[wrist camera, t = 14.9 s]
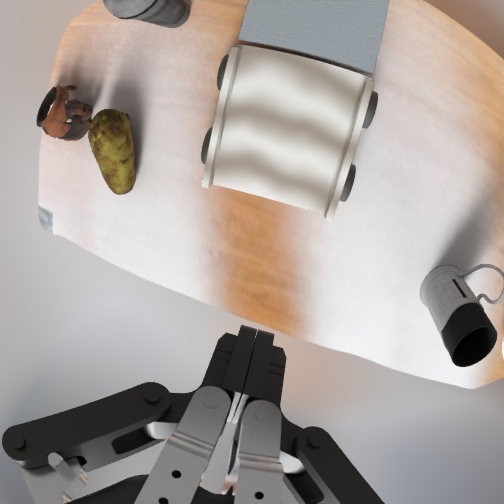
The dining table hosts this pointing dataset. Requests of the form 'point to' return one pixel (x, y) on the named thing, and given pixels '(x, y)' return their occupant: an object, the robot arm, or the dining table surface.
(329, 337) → the dining table surface
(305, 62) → the flatbed cart
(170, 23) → the beverage cup
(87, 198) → the dining table surface
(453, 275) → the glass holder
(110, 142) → the potato
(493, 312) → the dining table surface
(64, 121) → the brown curved piece
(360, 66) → the panel
